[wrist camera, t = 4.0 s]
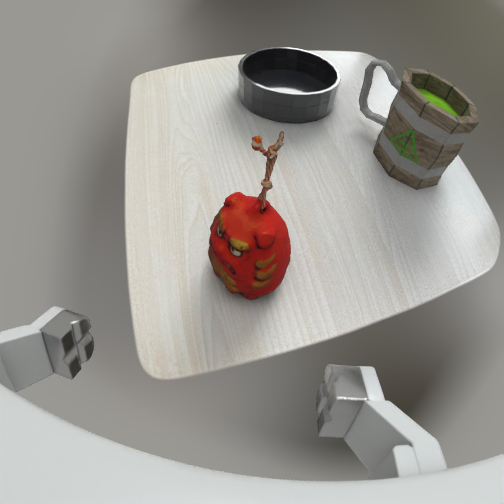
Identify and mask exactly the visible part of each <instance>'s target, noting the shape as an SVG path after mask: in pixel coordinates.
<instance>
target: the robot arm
mask: <svg viewBox="0 0 504 504" xmlns="http://www.w3.org/2000/svg"><path fill="white" fill-rule="evenodd" d="M90 328H91V324H90V320H89V319H88V318H87V317H86V316H83V315H80V314H77V313H75V312H72V311H69V310H65V309H62V308H60V307H57V306H55V307H52V308H51V309H49V310H48V311H47V312H45V313H44V314H43V315H42V316H41V317H39V318H38V319H37V320H36V321H35V322H33V323H32V324H31V325H30V326H27V325H25V326H20V327H17V328H13V329H9V330H5V331H1V332H0V504H504V454H501V455H498V456H495V457H492V458H488V459H485V460H482V461H478V462H475V463H471V464H467V465H463V466H459V467H455V468H450V469H448V468H447V466H446V462H445V459H444V457H443V454H442V451H441V448H440V445H439V443H438V441H437V440H436V439H435V438H434V437H433V436H431V435H430V434H429V433H428V432H426V431H425V430H424V429H423V428H421V427H420V426H419V425H418V424H417V423H415V422H414V421H413V420H412V419H411V418H409V417H408V416H407V415H406V414H404V413H403V412H402V411H401V410H400V409H398V408H397V407H396V406H395V405H393V404H392V403H391V402H390V401H385V399H384V396H383V393H382V390H381V387H380V383H379V381H378V378H377V375H376V372H375V369H374V368H373V367H364V366H358V367H356V366H342V365H330V364H329V365H328V366H327V368H326V370H325V373H324V376H325V381H324V382H322V383H321V384H320V387H319V390H318V395H317V403H316V407H317V411H318V412H319V414H320V416H319V418H318V421H317V422H318V436H322V437H337V438H344V440H345V441H346V442H347V444H348V445H349V446H350V448H351V449H352V450H353V452H354V453H355V454H356V455H357V457H358V458H359V459H360V461H361V462H362V463H363V464H364V466H365V467H366V468H367V470H368V471H369V472H370V473H371V476H370V477H369V478H368V480H361V481H301V480H285V479H273V478H264V477H255V476H247V475H240V474H234V473H228V472H222V471H217V470H212V469H207V468H202V467H197V466H193V465H189V464H185V463H181V462H177V461H173V460H169V459H165V458H161V457H158V456H155V455H152V454H149V453H145V452H142V451H139V450H136V449H133V448H130V447H127V446H125V445H122V444H119V443H116V442H114V441H111V440H108V439H106V438H104V437H101V436H99V435H96V434H93V433H91V432H89V431H87V430H85V429H82V428H80V427H77V426H76V425H73V424H71V423H69V422H67V421H65V420H63V419H61V418H59V417H57V416H55V415H53V414H51V413H49V412H47V411H45V410H44V409H42V408H40V407H38V406H36V405H34V404H33V403H31V402H29V401H28V400H26V399H24V398H22V397H21V396H19V395H17V394H16V392H18V391H19V390H22V389H24V388H26V387H28V386H30V385H32V384H34V383H36V382H38V381H40V380H42V379H44V378H46V377H48V376H50V375H52V374H54V373H56V374H59V375H61V376H64V377H66V378H69V379H71V380H72V379H73V378H74V377H75V376H76V374H77V373H78V372H79V371H80V370H81V364H82V363H84V362H87V361H88V360H89V359H90V357H91V355H92V353H93V350H94V341H93V337H92V335H91V334H90V333H89V330H90Z"/></svg>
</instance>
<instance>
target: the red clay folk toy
mask: <svg viewBox="0 0 504 504" xmlns="http://www.w3.org/2000/svg"><path fill="white" fill-rule="evenodd" d="M283 138H284V132H282V131H281V132H280V134H279V139H278V140H277V143H276V144H275V145H271V146H269V147H268V151H266V150H265V149H264V148H263V146H262V138H261V137H260V136H255V137H253V138H252V141H253V142H252V148H253V149H254V150H255V151H260V152H262V153H263V155H264V156H267V163H266V174H265V179H264V180H262V181H261V185H262V186H263V189H262V192H261V193H260V194H259V196H258V197H251V196H245V195H243V194H242V193H240V192H236V193H234V194H231V195H230V196H228V197H227V198H226V199H225V202H224V206H223V207H222V208H221V209H220V211H219V213H218V214H217V215H216V216H215V218H214V220H213V223H212V225H211V227H210V231H211V234H210V239H209V244H210V246H209V250H208V255H209V259H210V262H211V264H212V266H213V269H214V272H215V274H216V275H217V276H219V277H221V279H222V281H223V282H224V283H225V285H226V288H227V289H228V290H229V291H230V292H231V293H232V294H233V293H239V294H241V295H243V296H244V297H245V298H247V299H250V300H251V299H256V298H258V297H260V296H263V295H265V294H268V293H270V292H271V291H273V290H274V289H276V288H277V287H278V286H279V285H280V283H281V282H282V280H283V278H284V275H285V273H286V269H287V267H288V265H289V262H290V254H291V245H290V238H289V235H288V229H287V226H286V224H285V222H284V220H283V219H282V218H281V216H280V215H279V214H278V213H277V211H276V210H275V209H274V208H273V207H272V206H271V205H270V203H269V202H268V201H267V200H266V191H267V190H269V189H271V188H272V183H271V181H270V180H269V178H270V176H271V173H272V171H273V166H274V164H275V161H276V158H277V155H278V154H277V151H278V150H279V149H280V148H281V146H282V145H283V143H282V141H283Z"/></svg>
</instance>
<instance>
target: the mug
mask: <svg viewBox="0 0 504 504" xmlns="http://www.w3.org/2000/svg"><path fill="white" fill-rule="evenodd" d="M376 66H381V67H382V68H383V69H384V71H385V72H386V74H387V76H388V79H389V81H390V83H391V84H392V85H393V86H394V87H395V88H396V89H397V90H398V92H397V94H396V96H395V98H394V100H393V102H392V104H391V107H390V111H389V114H388V118H385V117H383V116H381V115H379V114H376V113H373V112H372V111H371V110H370V109H369V108H368V105H367V98H368V94H369V91H370V88H371V84H372V79H373V71H374V69H375V68H376ZM359 105H360V110H361V112H362V113H363V114H364V115H365V117H366V118H369V119H371V120H373V121H375V122H377V123H379V124H381V125H383V126H384V127H383V129H382V130H381V132H380V134H379V135H378V138H377V141H376V144H375V147H374V150H373V153H374V154H375V156H376V157H377V159H378V160H379V162H380V163H381V165H382V166H383V168H384V169H385V171H386V172H387V174H388V175H389V176H391V177H393V178H395V179H397V180H399V181H401V182H403V183H405V184H407V185H409V186H410V187H412V188H414V189H416V190H417V189H421V188H425V187H429V186H433V185H437V183H438V181H439V179H440V177H441V175H442V174H443V172H444V171H445V170H446V168H447V167H448V165H449V164H450V163H451V162H452V161H453V160H454V159H455V157H456V156H457V154H458V152H459V151H460V148H461V147H462V145H463V143H464V141H465V140H466V138H467V137H468V135H469V133H470V132H471V131H472V130H473V129H474V128H475V127H476V125H477V124H478V123H479V122H478V117H477V111H476V106H475V105H474V104H473V103H472V102H471V101H470V100H469V99H468V98H467V97H466V96H465V95H464V94H463V93H462V92H461V91H460V90H459V89H458V88H457V87H456V86H455V85H454V84H452V83H450V82H449V81H447V80H445V79H443V78H441V77H439V76H437V75H436V74H434V73H432V72H430V71H428V70H420V69H410V68H405V70H404V75H403V79H402V82H400V81H399V80H398V78H397V76H396V74H395V71H394V69H393V68H392V66H391V65H390V64H389V63H388V62H387V61H382V60H373V61H371V63H370V64H369V65H368V67H367V68H366V69H365V75H364V82H363V85H362V89H361V93H360V97H359Z"/></svg>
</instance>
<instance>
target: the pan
mask: <svg viewBox="0 0 504 504" xmlns="http://www.w3.org/2000/svg"><path fill="white" fill-rule="evenodd" d="M340 80H341V78H340V72H339V71H338V69H337V68H336V66H334V65H333V64H332V63H331V62H330V61H328V60H327V59H325V58H323V57H322V56H320V55H317V54H315V53H312V52H309V51H305V50H301V49H296V48H289V47H272V48H263V49H260V50H256V51H253V52H251V53H249V54H247V55H245V56H244V57H243V58H242V59H241V60H240V63H239V65H238V85H239V97H240V99H241V101H242V103H243V104H244V105H245V106H246V107H247V108H248V109H249V110H250V111H252V112H254V113H255V114H257V115H259V116H262V117H264V118H267V119H270V120H274V121H279V122H286V123H305V122H311V121H316V120H318V119H321V118H323V117H325V116H326V115H328V114H329V113H330V112H331V110H332V109H333V106H334V103H335V100H336V96H337V92H338V88H339V84H340Z"/></svg>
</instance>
